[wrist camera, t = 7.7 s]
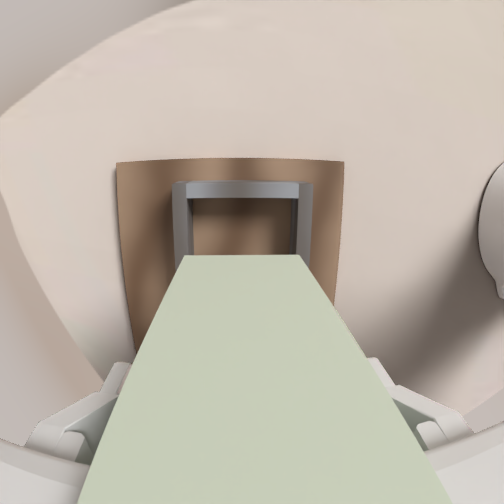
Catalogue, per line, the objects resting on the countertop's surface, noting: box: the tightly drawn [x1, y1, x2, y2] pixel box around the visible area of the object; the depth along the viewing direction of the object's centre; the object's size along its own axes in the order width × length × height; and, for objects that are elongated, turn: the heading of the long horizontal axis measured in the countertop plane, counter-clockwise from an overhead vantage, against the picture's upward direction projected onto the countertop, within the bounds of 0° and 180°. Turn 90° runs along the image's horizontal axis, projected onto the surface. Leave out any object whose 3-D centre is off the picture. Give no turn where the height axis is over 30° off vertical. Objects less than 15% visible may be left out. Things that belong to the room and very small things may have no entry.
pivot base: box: [116, 158, 344, 354], centre depth 20 cm, size 18×20×16 cm
